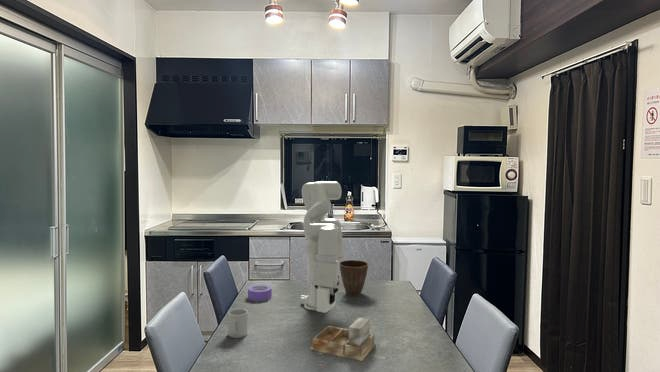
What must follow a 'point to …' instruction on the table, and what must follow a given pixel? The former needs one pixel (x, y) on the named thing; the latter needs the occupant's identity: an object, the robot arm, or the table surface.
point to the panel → (324, 299)
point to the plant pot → (353, 276)
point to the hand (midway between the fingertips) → (326, 301)
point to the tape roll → (259, 293)
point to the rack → (345, 340)
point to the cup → (238, 323)
